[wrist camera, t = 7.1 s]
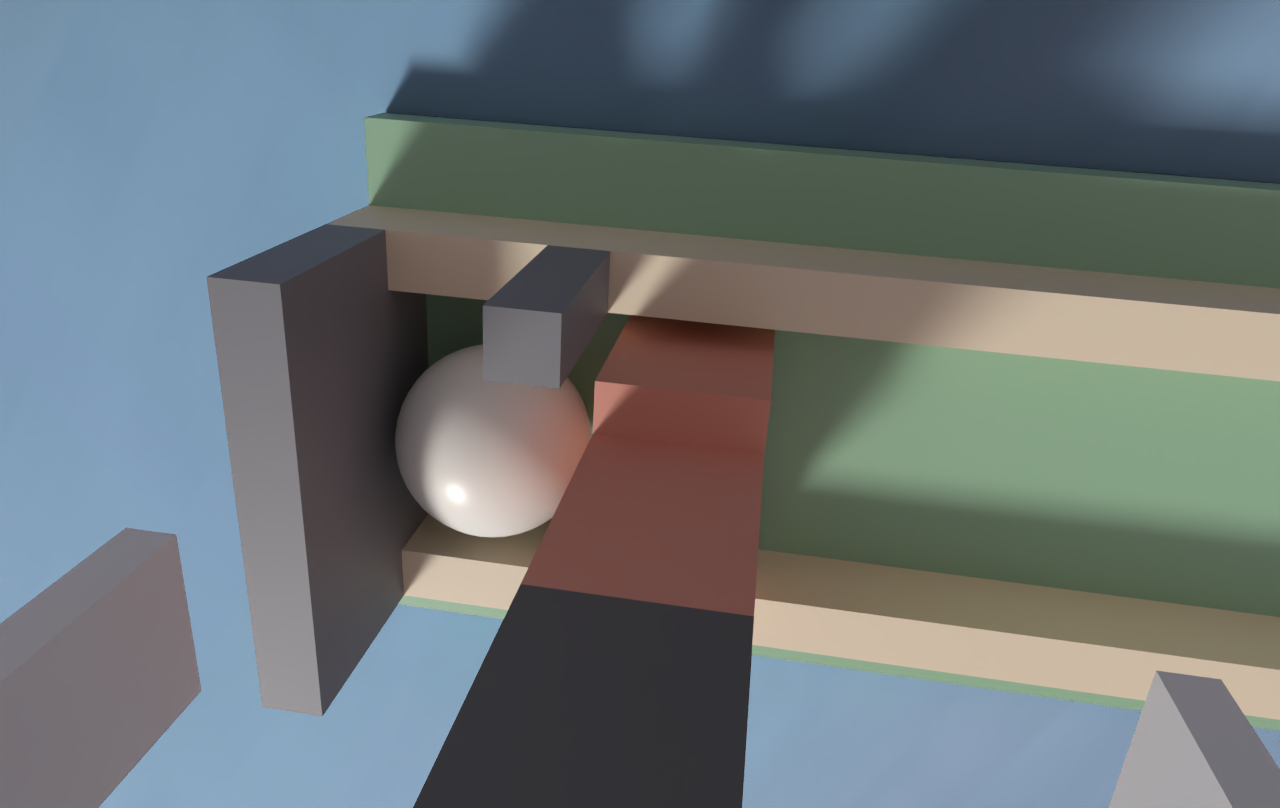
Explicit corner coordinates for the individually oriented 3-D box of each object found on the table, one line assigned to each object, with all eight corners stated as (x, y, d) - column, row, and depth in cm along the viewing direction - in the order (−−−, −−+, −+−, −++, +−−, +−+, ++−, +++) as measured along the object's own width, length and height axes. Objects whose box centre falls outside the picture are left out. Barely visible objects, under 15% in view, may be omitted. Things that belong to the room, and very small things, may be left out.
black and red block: (631, 312, 19) (324, 879, 7) (775, 327, 19) (741, 953, 6) (620, 519, 21) (365, 1262, 9) (749, 536, 21) (683, 1335, 8)
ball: (374, 385, 16) (600, 389, 17) (404, 315, 20) (589, 320, 20) (385, 577, 18) (592, 575, 18) (412, 479, 22) (583, 479, 22)
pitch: (384, 112, 20) (190, 157, 14) (1500, 201, 17) (1912, 308, 11) (406, 581, 25) (271, 779, 18) (1287, 704, 22) (1489, 984, 16)
